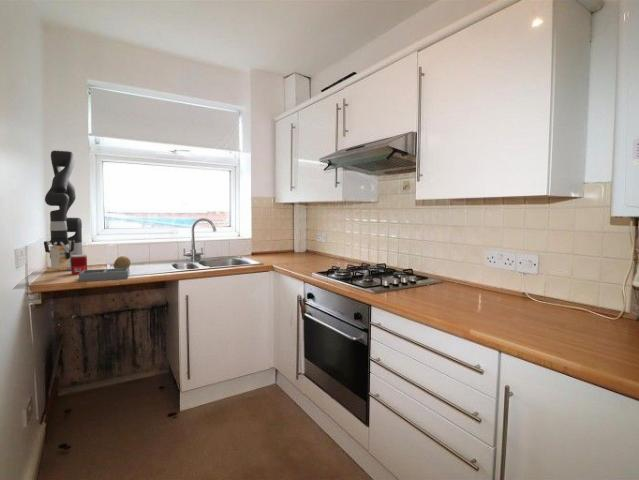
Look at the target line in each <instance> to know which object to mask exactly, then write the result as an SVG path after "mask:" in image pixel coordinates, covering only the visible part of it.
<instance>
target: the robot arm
mask: <svg viewBox="0 0 639 480" xmlns="http://www.w3.org/2000/svg"><path fill="white" fill-rule="evenodd" d="M75 158H76V157H75V155H74V153H73V152H72V151H69V150H67V151H66V150H52V151H51V152H50V161H51V166H52V171H53V175H54V177H53V178H52V181H51V186H50V188H49V190H48V191H47V193H46V194H45V196H44V203H45V204H46V205H48V206H50V207H51V206H52V207H58V209H53V210H51V211H50V212H49V219H50V220H49V221H50V224H49V225H50V227H49V230H50V240H45V241H43V246H44V251H45V253H49V258H50V260H51V254H50V245H51V246H63V248H64V249H65V250H66V252H67V259H69V258H70V268H65V270H66V271H71V256H72V255H83V237H82V235H83V234H82V233H83V232H82V231H83V229H82V228H83V224H82V219H81V218H80V217H67V214H68V212H69V210H70V208H71V207H72V206H73V204H74V202H75V200H76V189H75V186H74V184H73V183H72V182H71V181H70V180H69V179H70V176H71V174H72V172H73V169H74V166H75V161H76V160H75ZM61 167H62V168H63V169H61ZM68 233H74V234H73V235H72V236H68ZM66 245H69V248H68V247H66Z"/></svg>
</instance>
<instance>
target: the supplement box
mask: <svg viewBox="0 0 639 480" xmlns="http://www.w3.org/2000/svg"><path fill="white" fill-rule="evenodd" d="M66 247H68V248H69V245H66ZM49 250H50V253H49V255H50V254H51V259H50V267H51V270H52V271H57V270H58V271H59V270H66V268H70V258H69V259H67V252H66V250H65V249H64V248H63V246H53V245H51V246H50V245H49Z"/></svg>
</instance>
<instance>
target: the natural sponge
mask: <svg viewBox="0 0 639 480" xmlns="http://www.w3.org/2000/svg"><path fill="white" fill-rule="evenodd" d="M130 266H131V260H130V258H128V257H127V256H119V257H117V258H116V259H115V261H114V263H113V269H115V268H129V269H130Z"/></svg>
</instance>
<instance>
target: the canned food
mask: <svg viewBox="0 0 639 480" xmlns="http://www.w3.org/2000/svg"><path fill="white" fill-rule="evenodd" d="M83 270H88V256H87V254H82V255H72V256H71V270H70V271H71V274H72V275H74V276H75V275H77V274H78V275H79V273H80V272H82V271H83Z"/></svg>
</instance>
